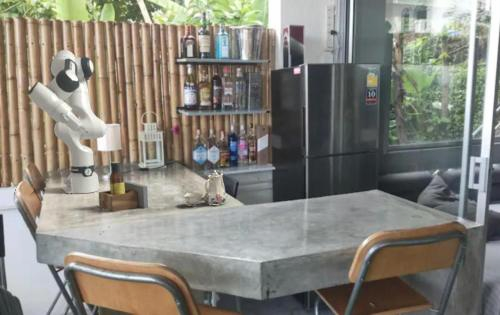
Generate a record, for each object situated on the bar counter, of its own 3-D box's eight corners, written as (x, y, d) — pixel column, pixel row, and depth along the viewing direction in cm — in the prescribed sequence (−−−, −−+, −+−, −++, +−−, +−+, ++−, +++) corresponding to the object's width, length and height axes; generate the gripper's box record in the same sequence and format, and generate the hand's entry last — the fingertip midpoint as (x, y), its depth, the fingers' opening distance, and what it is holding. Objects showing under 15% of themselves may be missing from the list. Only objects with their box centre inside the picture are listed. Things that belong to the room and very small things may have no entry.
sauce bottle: (128, 203, 200) (126, 161, 197) (120, 206, 194) (118, 163, 191) (116, 202, 202) (114, 160, 200) (108, 205, 196) (105, 162, 194)
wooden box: (99, 207, 198) (98, 192, 197) (124, 202, 207) (123, 188, 206) (112, 212, 189) (112, 196, 188) (137, 206, 198) (137, 191, 197)
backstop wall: (119, 200, 210) (118, 180, 209) (123, 200, 212) (122, 180, 210) (144, 208, 195) (143, 186, 194) (148, 207, 196) (147, 186, 195)
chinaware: (212, 198, 221) (208, 166, 219) (240, 198, 213) (237, 165, 212) (179, 211, 196) (175, 175, 195) (210, 211, 188) (206, 174, 187)
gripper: (65, 108, 180) (91, 131, 185) (69, 107, 200) (92, 128, 204) (54, 119, 180) (81, 141, 184) (59, 117, 199) (83, 138, 203)
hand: (87, 134), depth 194 cm, fingers open, 8 cm apart
